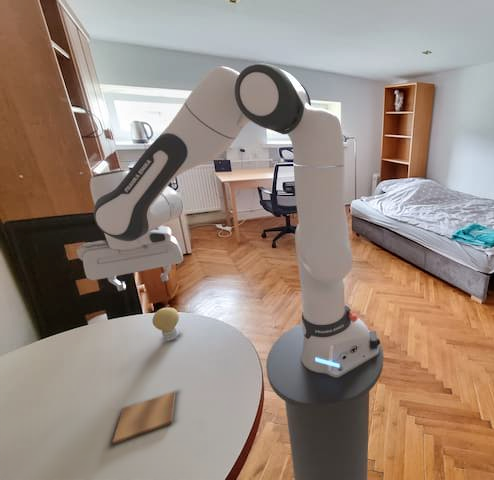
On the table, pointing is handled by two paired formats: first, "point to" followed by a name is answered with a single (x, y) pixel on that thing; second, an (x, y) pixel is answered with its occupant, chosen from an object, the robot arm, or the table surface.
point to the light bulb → (166, 322)
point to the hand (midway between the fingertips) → (144, 284)
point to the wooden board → (145, 417)
